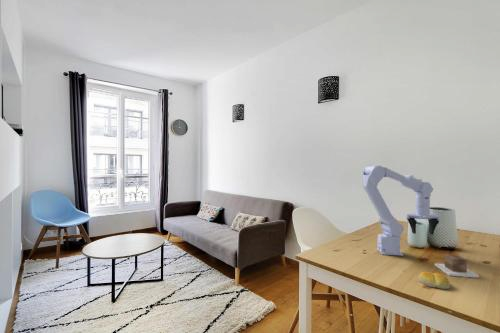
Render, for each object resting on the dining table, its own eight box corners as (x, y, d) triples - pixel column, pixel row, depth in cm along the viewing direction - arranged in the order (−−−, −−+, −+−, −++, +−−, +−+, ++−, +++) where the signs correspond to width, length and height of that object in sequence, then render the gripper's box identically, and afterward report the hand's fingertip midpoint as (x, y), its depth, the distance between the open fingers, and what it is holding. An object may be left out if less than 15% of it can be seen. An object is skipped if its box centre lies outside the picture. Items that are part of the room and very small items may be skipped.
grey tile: (449, 275, 95) (449, 273, 95) (434, 265, 104) (434, 263, 104) (478, 277, 93) (478, 275, 93) (461, 267, 102) (461, 265, 102)
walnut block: (452, 271, 96) (452, 258, 96) (444, 266, 101) (444, 254, 101) (466, 272, 96) (466, 259, 96) (458, 267, 100) (458, 255, 100)
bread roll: (417, 276, 94) (417, 266, 94) (447, 282, 89) (447, 271, 89) (419, 285, 87) (419, 274, 87) (451, 292, 82) (451, 280, 82)
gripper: (410, 206, 117) (409, 235, 117) (444, 207, 114) (444, 236, 114) (403, 204, 124) (403, 231, 124) (435, 205, 121) (435, 232, 121)
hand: (422, 233), depth 120 cm, fingers open, 7 cm apart
